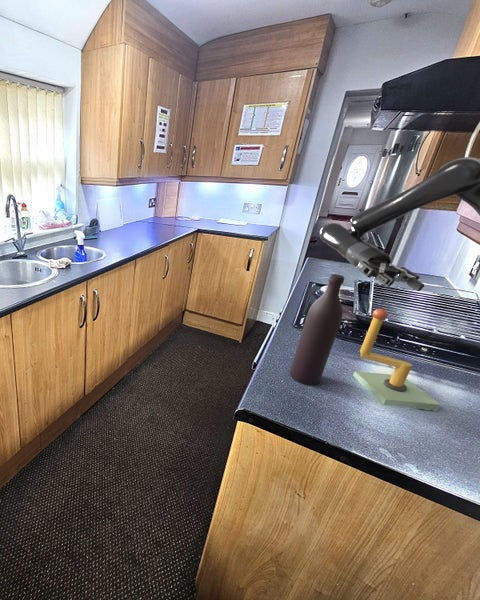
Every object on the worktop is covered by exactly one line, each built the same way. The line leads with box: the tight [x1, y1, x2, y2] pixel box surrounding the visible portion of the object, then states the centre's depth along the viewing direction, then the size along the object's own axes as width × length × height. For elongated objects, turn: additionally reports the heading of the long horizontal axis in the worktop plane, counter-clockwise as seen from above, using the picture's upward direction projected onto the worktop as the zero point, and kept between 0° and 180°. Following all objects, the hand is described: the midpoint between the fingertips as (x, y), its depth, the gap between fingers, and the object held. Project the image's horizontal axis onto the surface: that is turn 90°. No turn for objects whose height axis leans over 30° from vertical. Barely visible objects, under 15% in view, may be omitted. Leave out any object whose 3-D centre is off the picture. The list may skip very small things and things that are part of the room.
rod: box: [359, 308, 413, 387], centre depth 83 cm, size 11×3×19 cm, turn 52°
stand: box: [352, 370, 441, 411], centre depth 85 cm, size 12×12×3 cm
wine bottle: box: [289, 273, 345, 386], centre depth 84 cm, size 7×7×30 cm
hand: (406, 285), depth 89 cm, fingers open, 8 cm apart
